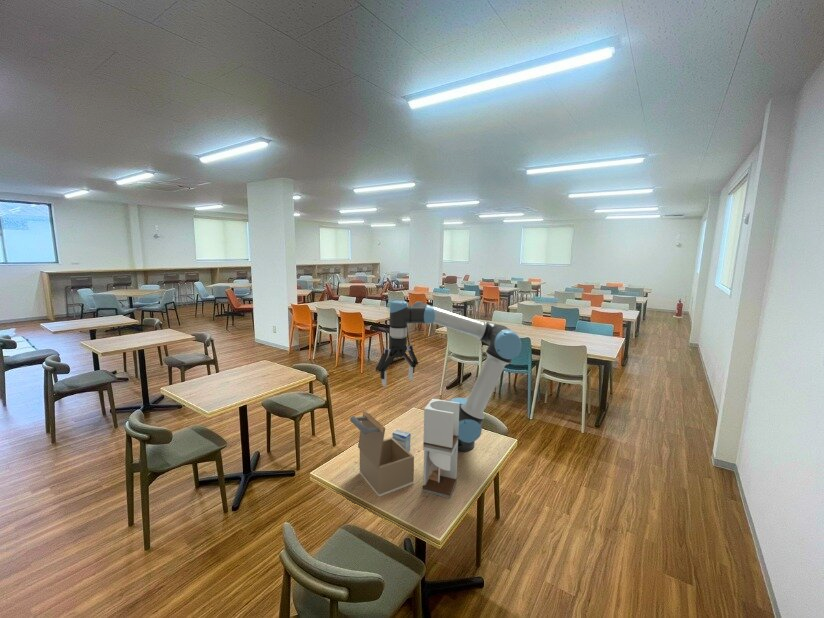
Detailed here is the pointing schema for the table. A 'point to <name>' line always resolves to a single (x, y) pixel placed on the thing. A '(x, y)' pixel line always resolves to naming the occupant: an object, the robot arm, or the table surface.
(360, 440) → the lid flap
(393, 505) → the table surface
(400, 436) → the medicine box
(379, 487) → the carton
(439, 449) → the white tower
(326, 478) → the table surface
